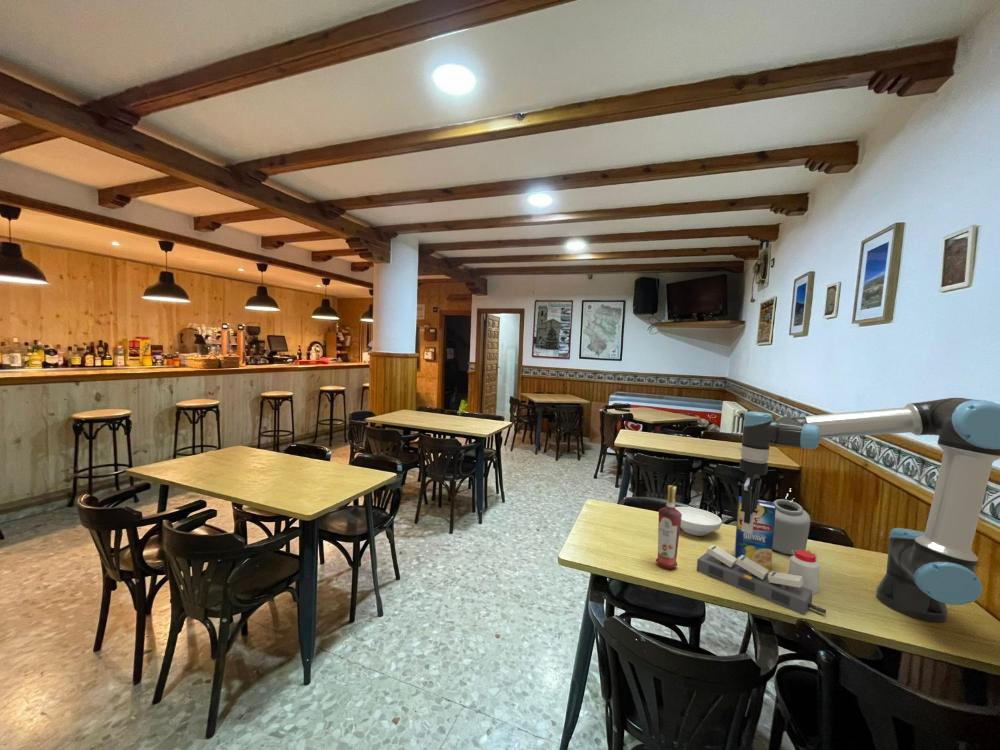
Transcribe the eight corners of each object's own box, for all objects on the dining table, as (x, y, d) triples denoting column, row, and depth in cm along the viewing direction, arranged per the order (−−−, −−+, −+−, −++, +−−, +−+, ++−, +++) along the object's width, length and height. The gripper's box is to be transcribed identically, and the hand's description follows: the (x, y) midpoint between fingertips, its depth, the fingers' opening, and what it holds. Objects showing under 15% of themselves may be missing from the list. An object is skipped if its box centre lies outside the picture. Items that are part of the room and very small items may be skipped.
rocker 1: (735, 563, 135) (737, 558, 134) (730, 567, 132) (732, 562, 131) (711, 548, 140) (713, 544, 140) (706, 552, 137) (708, 547, 137)
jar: (814, 566, 145) (820, 498, 144) (766, 556, 150) (772, 490, 149) (799, 544, 162) (804, 483, 161) (756, 536, 168) (761, 477, 167)
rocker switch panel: (828, 610, 118) (829, 593, 118) (822, 622, 112) (823, 605, 112) (707, 562, 143) (708, 548, 143) (696, 570, 137) (697, 556, 137)
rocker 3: (803, 582, 121) (802, 576, 121) (800, 587, 118) (798, 580, 118) (773, 577, 127) (771, 571, 127) (768, 582, 124) (767, 575, 124)
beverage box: (770, 570, 140) (776, 508, 139) (734, 561, 145) (739, 501, 144) (768, 562, 146) (773, 502, 145) (734, 553, 151) (738, 496, 150)
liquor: (681, 566, 140) (686, 486, 138) (673, 573, 134) (679, 491, 133) (659, 558, 145) (665, 481, 143) (651, 565, 139) (657, 485, 138)
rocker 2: (766, 575, 128) (768, 570, 127) (762, 579, 125) (764, 574, 125) (740, 559, 134) (742, 554, 133) (735, 563, 131) (737, 558, 130)
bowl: (730, 543, 160) (731, 526, 159) (680, 541, 160) (682, 523, 160) (705, 523, 179) (706, 507, 179) (661, 521, 179) (662, 505, 179)
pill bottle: (819, 596, 125) (822, 562, 125) (788, 587, 129) (791, 554, 129) (815, 585, 132) (818, 552, 131) (787, 577, 136) (789, 545, 135)
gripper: (747, 454, 136) (740, 523, 137) (734, 460, 127) (727, 532, 128) (773, 460, 130) (766, 531, 132) (761, 465, 122) (754, 542, 123)
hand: (746, 531), depth 130 cm, fingers closed
